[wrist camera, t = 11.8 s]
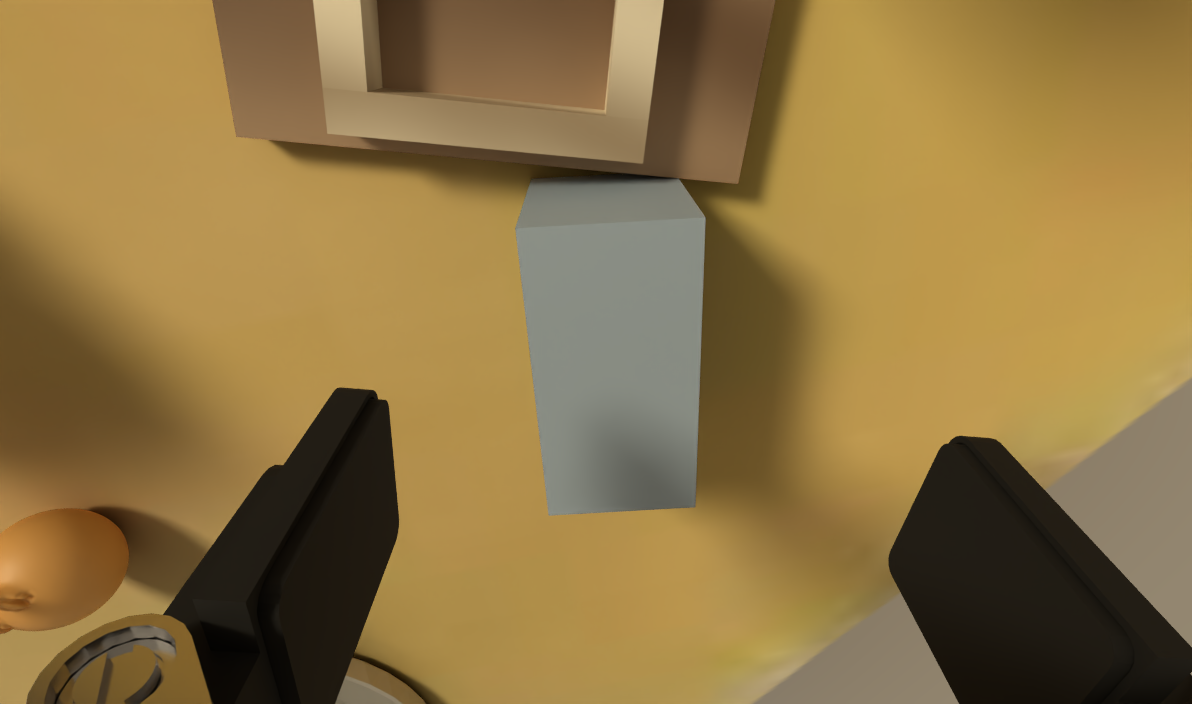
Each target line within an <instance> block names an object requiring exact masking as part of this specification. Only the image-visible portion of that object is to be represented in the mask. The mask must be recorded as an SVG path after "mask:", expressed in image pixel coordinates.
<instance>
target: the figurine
mask: <svg viewBox="0 0 1192 704" xmlns="http://www.w3.org/2000/svg"><path fill="white" fill-rule="evenodd" d="M128 563H129V549H128V545H127V541H126V539H125V537H124V535H123V533H122V532H121V530H120V529H119V528H118V527H117V526H116V525H115V524H114V523H113V522H112V521H111V520H109V519H108V518H106V517H104V516H102V515H100V514H97V513H95V512H92V511H88V510H82V509H55V510H49V511H45V512H41V513H38V514H35V515H32V516H29V517H27V518H25V519H23V520H21V521H19V522H17V523H15V524H13V525H12V526H10V527H9V528H7V529H6V530H5V531H3V532H2V533H1V534H0V634H3V633H6V632H8V631H10V630H12V629H14V630H23V631H44V630H51V629H56V628H60V627H64V626H67V625H70V624H72V623H75V622H77V621H79V620H81V619H83V618H85V617H87V616H89V615H90V614H92V613H93V612H95V611H96V610H97V609H99V608H100V607H101V606H103V605H104V604H105V603H106V602H107V601H108V600H109V599H110V598H111V597H112V596H113V594H114V593H115V592H116V591H117V589H118V588H119V586H120V584H121V583H122V581H123V579H124V577H125V574H126V571H127V568H128Z"/></svg>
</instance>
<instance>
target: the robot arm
mask: <svg viewBox="0 0 1192 704" xmlns="http://www.w3.org/2000/svg"><path fill="white" fill-rule="evenodd" d="M398 528H399V514H398V503H397V492H396V481H395V470H394V459H393V448H392V437H391V426H390V415H389V406H388V402H387V401H386V400H379V399H378V397H377V394H376V392H375V391H374V390H365V389H352V388H337V389H336V390H335V391H334V392H333V393H332V395H331V396H330V398H329V399H328V401H327V402H326V404H325V405H324V407H323V408H322V409H321V411H320V412H319V414H318V415H317V417H316V418H315V420H314V421H313V423H312V424H311V426H310V427H309V429H308V430H307V431H306V433H305V434H304V436H303V437H302V439H301V440H300V442H299V443H298V445H297V446H296V448H295V449H294V451H293V452H292V453H291V455H290V456H289V458H288V459H287V461H286V462H285V464H284V465H274V466H272V467H270V468H269V469H268V470H267V471H266V472H265V473H264V474H263V475H262V476H261V478H260V479H259V481H258V482H257V483H256V485H255V486H254V488H253V489H252V490H251V492H250V493H249V495H248V496H247V498H246V499H245V500H244V502H243V503H242V505H241V506H240V507H239V509H238V510H237V512H236V513H235V514H234V516H233V517H232V519H231V520H230V521H229V523H228V524H227V526H226V527H225V528H224V530H223V531H222V533H221V534H220V535H219V537H218V538H217V540H216V541H215V542H214V544H213V545H212V547H211V548H210V549H209V551H208V552H207V554H206V555H205V556H204V558H203V559H202V561H201V562H200V564H199V565H198V566H197V568H196V569H195V571H194V572H193V573H192V575H191V576H190V578H189V579H188V580H187V582H186V583H185V585H184V586H183V587H182V589H181V590H180V592H179V593H178V594H177V596H176V597H175V599H174V600H173V601H172V603H171V604H170V606H169V607H168V608H167V610H166V611H165V613H164V614H163V615H159V614H152V613H151V614H143V615H134V616H128V617H125V618H122V619H119V620H116V621H113V622H110V623H107V624H104V625H102V626H100V627H98V628H96V629H95V630H93V631H91V632H89V633H87V634H85V635H83V636H81V637H80V638H78V639H77V640H76V641H74V642H73V643H72V644H70V645H69V646H68V647H66V648H65V649H64V650H62V651H61V652H60V653H58V654H57V655H56V656H55V658H54V659H53V660H52V661H51V662H50V663H49V664H48V665H47V666H46V667H45V668H44V669H43V670H42V672H41V673H40V674H39V676H38V677H37V679H36V681H35V683H34V684H33V686H32V688H31V690H30V691H29V693H28V697H27V702H26V704H426V703H425V702H424V700H423V699H422V698H421V697H420V696H419V695H418V694H416V693H415V692H414V691H413V690H412V689H411V688H410V687H409V686H408V685H407V684H405V683H404V682H402V681H400V680H399V679H397V678H396V677H394V676H393V675H391V674H390V673H388V672H386V671H384V670H382V669H380V668H378V667H375V666H373V665H371V664H369V663H367V662H365V661H362V660H359V659H356V658H352V657H353V655H354V652H355V649H356V646H357V644H358V641H359V638H360V636H361V633H362V630H363V628H364V625H365V622H366V620H367V617H368V614H369V612H370V609H371V606H372V604H373V601H374V598H375V596H376V593H377V590H378V588H379V585H380V582H381V579H382V577H383V574H384V571H385V569H386V566H387V563H388V561H389V558H390V555H391V553H392V550H393V547H394V545H395V542H396V539H397V534H398ZM889 569H890V572H891V575H892V577H893V579H894V581H895V582H896V584H897V586H898V588H899V590H900V592H901V594H902V596H903V598H904V600H905V602H906V603H907V605H908V607H909V609H910V611H911V613H912V615H913V617H914V619H915V621H916V622H917V624H918V626H919V628H920V630H921V632H922V633H923V636H924V638H925V639H926V642H927V643H928V645H929V647H930V649H931V651H932V653H933V655H934V657H935V658H936V661H937V662H938V664H939V666H940V668H941V670H942V672H943V674H944V676H945V678H946V680H947V682H948V683H949V685H950V687H951V689H952V691H953V693H954V695H955V697H956V699H957V700H958V702H959V704H1192V675H1191V674H1190V673H1191V672H1192V647H1191V646H1190V645H1189V644H1188V643H1187V642H1186V641H1185V640H1184V639H1183V638H1182V637H1181V636H1180V634H1179V633H1178V632H1177V631H1176V630H1175V629H1174V628H1173V627H1172V626H1171V625H1170V624H1169V623H1168V622H1167V621H1166V619H1165V618H1164V617H1163V616H1162V615H1161V614H1160V613H1159V612H1158V611H1157V610H1156V609H1155V608H1154V607H1153V606H1152V605H1151V603H1150V602H1149V601H1148V600H1147V599H1146V598H1145V597H1144V596H1143V595H1142V594H1141V593H1140V592H1139V591H1138V590H1137V588H1136V587H1135V586H1134V585H1133V584H1132V583H1131V582H1130V581H1129V580H1128V579H1127V578H1126V577H1125V576H1124V575H1123V574H1122V572H1121V571H1120V570H1119V569H1118V568H1117V567H1116V566H1115V565H1114V564H1113V563H1112V562H1111V561H1110V560H1109V559H1108V557H1107V556H1105V554H1104V553H1103V552H1102V551H1101V550H1100V549H1099V548H1098V547H1097V546H1096V545H1095V544H1094V543H1093V541H1092V540H1091V539H1090V538H1089V537H1088V536H1087V535H1086V534H1085V533H1084V532H1083V531H1082V530H1081V529H1080V528H1079V526H1078V525H1077V524H1076V523H1075V522H1074V521H1073V520H1072V519H1071V518H1070V517H1069V516H1068V515H1067V514H1066V513H1065V511H1064V510H1062V508H1061V507H1060V506H1059V505H1058V504H1057V503H1056V502H1055V501H1054V500H1053V499H1052V498H1051V497H1050V495H1049V494H1048V493H1047V492H1046V491H1045V490H1044V489H1043V488H1042V487H1041V486H1040V485H1039V484H1038V483H1037V482H1036V480H1035V479H1034V478H1033V477H1032V476H1031V475H1030V474H1029V473H1028V472H1027V471H1026V470H1025V469H1024V468H1023V467H1022V466H1021V464H1020V463H1019V462H1018V461H1017V460H1016V459H1015V458H1014V457H1013V456H1012V455H1011V454H1010V453H1009V452H1008V451H1007V449H1006V448H1005V447H1004V446H1003V445H1002V444H1001V443H1000V442H998V441H997V440H995V439H991V438H981V437H968V436H957V437H955V438H953V439H952V440H951V441H950V442H949V443H948V444H944V445H943V446H942V447H941V448H940V450H939V451H938V453H937V455H936V458H935V460H934V462H933V464H932V466H931V468H930V470H929V472H928V474H927V476H926V478H925V480H924V482H923V484H922V487H921V489H920V491H919V493H918V495H917V497H916V499H915V501H914V503H913V505H912V507H911V509H910V511H909V514H908V516H907V518H906V520H905V522H904V524H903V526H902V528H901V530H900V532H899V534H898V536H897V538H896V540H895V543H894V545H893V547H892V549H891V551H890V554H889Z"/></svg>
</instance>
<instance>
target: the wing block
mask: <svg viewBox="0 0 1192 704" xmlns="http://www.w3.org/2000/svg"><path fill="white" fill-rule="evenodd" d="M705 220H706V217H705V216H704V214H703V213H702V212H701V210H700V209H699V207H698V206H697V204H696V203H695V201H694V200H693V199H692V197H691V196H690V194H689V193H688V191H687V190H686V188H685V187H684V186H683V184H682V183H681V181H680V180H679V178H670V177H659V176H649V175H638V174H628V173H623V174H606V175H588V176H570V177H552V178H535V179H531V182H530V185H529V188H528V191H527V194H526V197H525V200H524V203H523V206H522V210H521V213H520V216H519V219H518V222H517V225H516V228H515V229H516V238H517V246H518V255H519V263H520V272H521V281H522V289H523V298H524V306H525V315H526V324H527V332H528V341H529V349H530V358H531V367H532V375H533V384H534V392H535V401H536V410H537V418H538V427H539V436H540V444H541V453H542V461H543V470H544V479H545V487H546V496H547V504H548V513H549V515H566V514H583V513H601V512H618V511H636V510H654V509H671V508H689V507H695V502H696V474H697V446H698V417H699V389H700V361H701V333H702V305H703V276H704V248H705Z"/></svg>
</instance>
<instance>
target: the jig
mask: <svg viewBox="0 0 1192 704" xmlns="http://www.w3.org/2000/svg"><path fill="white" fill-rule="evenodd" d="M212 1H213V7H214V12H215V18H216V24H217V29H218V35H219V41H220V47H221V52H222V58H223V64H224V69H225V75H226V81H227V86H228V92H229V98H230V104H231V109H232V115H233V121H234V126H235V132H236V137H244V138H255V139H266V140H276V141H287V142H298V143H308V144H319V145H329V146H340V147H351V148H361V149H372V150H383V151H393V152H404V153H415V154H425V155H436V156H447V157H457V158H468V159H479V160H489V161H500V162H510V163H521V164H532V165H542V166H553V167H564V168H574V169H585V170H596V171H606V172H617V173H628V174H638V175H649V176H659V177H670V178H681V179H691V180H702V181H713V182H723V183H734V184H738V182H739V177H740V172H741V167H742V162H743V157H744V152H745V147H746V142H747V138H748V133H749V128H750V123H751V118H752V113H753V108H754V103H755V98H756V93H757V88H758V84H759V79H760V74H761V69H762V64H763V59H764V54H765V49H766V44H767V39H768V34H769V30H770V25H771V20H772V15H773V10H774V5H775V0H212Z"/></svg>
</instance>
